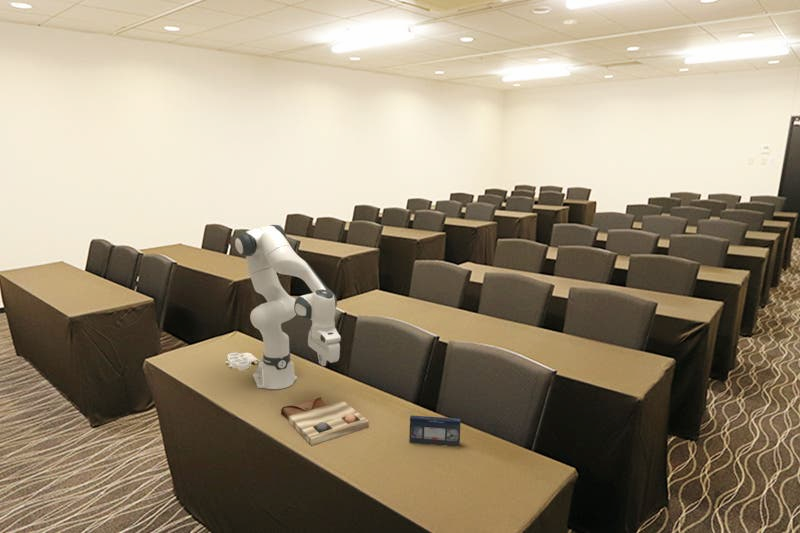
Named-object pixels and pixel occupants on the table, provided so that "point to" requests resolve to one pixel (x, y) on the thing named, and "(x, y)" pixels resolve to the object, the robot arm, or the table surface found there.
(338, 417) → the hole board
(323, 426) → the charcoal ball
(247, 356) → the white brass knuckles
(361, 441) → the table surface
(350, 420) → the terracotta ball
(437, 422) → the vhs cassette tape
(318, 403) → the sunglasses case
